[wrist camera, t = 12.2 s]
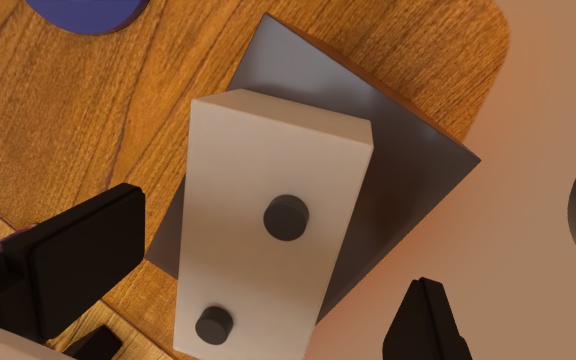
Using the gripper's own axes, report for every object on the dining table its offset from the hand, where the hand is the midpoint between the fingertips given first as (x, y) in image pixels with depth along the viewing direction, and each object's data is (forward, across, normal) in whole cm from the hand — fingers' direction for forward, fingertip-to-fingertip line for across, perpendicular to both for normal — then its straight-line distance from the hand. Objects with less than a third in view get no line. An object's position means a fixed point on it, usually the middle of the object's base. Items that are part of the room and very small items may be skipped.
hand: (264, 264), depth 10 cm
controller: (+3, 0, 0) cm, 3 cm away
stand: (+18, +1, 0) cm, 18 cm away
